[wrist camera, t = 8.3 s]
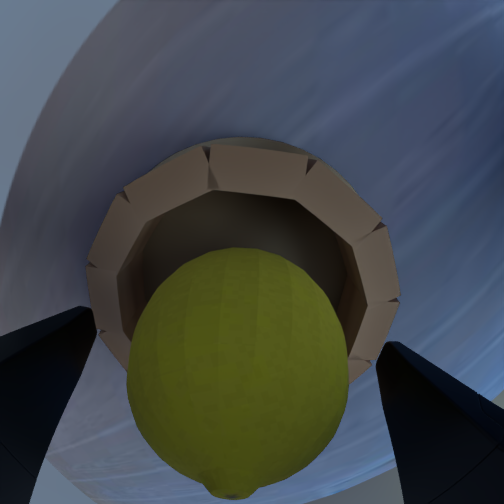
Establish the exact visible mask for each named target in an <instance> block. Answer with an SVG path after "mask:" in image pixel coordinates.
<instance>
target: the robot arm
mask: <svg viewBox="0 0 504 504" xmlns="http://www.w3.org/2000/svg"><path fill="white" fill-rule="evenodd" d="M96 335H97V329H96V324H95V319H94V314H93V311H92V309H91V308H89V307H84V306H78V307H75V308H72V309H70V310H67V311H65V312H62V313H59V314H57V315H54V316H52V317H49V318H46V319H44V320H41V321H39V322H36V323H33V324H31V325H28V326H26V327H23V328H21V329H18V330H15V331H13V332H10V333H8V334H5V335H3V336H0V504H29V502H30V499H31V496H32V492H33V489H34V486H35V483H36V480H37V479H36V478H37V477H38V474H39V471H40V468H41V466H42V463H43V460H44V458H45V455H46V452H47V450H48V447H49V445H50V442H51V440H52V437H53V435H54V433H55V430H56V428H57V426H58V423H59V421H60V419H61V416H62V414H63V412H64V410H65V408H66V405H67V403H68V401H69V399H70V397H71V395H72V393H73V391H74V389H75V387H76V385H77V383H78V380H79V378H80V376H81V374H82V371H83V369H84V366H85V364H86V361H87V358H88V356H89V353H90V351H91V348H92V346H93V343H94V341H95V338H96ZM376 371H377V377H378V382H379V388H380V394H381V401H382V406H383V410H384V415H385V418H386V422H387V426H388V430H389V434H390V438H391V442H392V446H393V451H394V455H395V459H396V464H397V468H398V473H399V478H400V483H401V489H402V494H403V500H404V504H504V409H502V408H501V407H499V406H497V405H496V404H494V403H492V402H491V401H489V400H488V399H486V398H485V397H483V396H482V395H480V394H477V392H475V391H474V390H472V389H471V388H469V387H468V386H466V385H465V384H463V383H462V382H460V381H458V380H457V379H455V378H454V377H452V376H451V375H449V374H448V373H446V372H445V371H443V370H442V369H440V368H439V367H437V366H435V365H434V364H432V363H431V362H429V361H428V360H426V359H425V358H423V357H422V356H420V355H419V354H417V353H415V352H414V351H412V350H411V349H409V348H408V347H406V346H405V345H403V344H402V343H400V342H398V341H388V342H386V343H385V344H384V346H383V349H382V351H381V353H380V355H379V358H378V360H377V362H376Z"/></svg>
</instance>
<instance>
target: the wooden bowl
mask: <svg viewBox="0 0 504 504" xmlns="http://www.w3.org/2000/svg"><path fill="white" fill-rule="evenodd" d="M123 189H124V191H123V192H121V193H118V194H117V195H116V196H115V198H114V200H113V202H112V204H111V206H110V208H109V210H108V212H107V214H106V216H105V218H104V220H103V222H102V225H101V227H100V229H99V231H98V233H97V235H96V238H95V240H94V242H93V244H92V247H91V249H90V251H89V254H88V256H87V258H86V259H87V260H88V261H89V262H90V263H89V264H88V265H86V266H85V267H86V275H87V283H88V290H89V296H90V302H91V308H92V311H93V314H94V319H95V324H96V329H100V330H101V331H100V333H99V334H98V335H99V336H100V338H101V339H102V340H103V342H104V343H105V344H106V346H107V347H108V348H109V350H110V351H111V352H112V354H113V355H114V356H115V358H116V359H117V360H118V361H119V363H120V364H121V365H122V367H123V368H124V369H125V370H126V371H127V370H128V362H129V354H130V348H131V342H132V338H133V334H134V331H135V328H136V325H137V322H138V320H139V318H140V316H141V314H142V312H143V311H144V309H145V307H146V306H147V304H148V302H149V300H150V299H151V297H152V295H153V294H154V292H155V291H156V290H157V288H158V287H159V286H160V285H161V284H162V283H163V282H164V281H165V280H166V279H167V278H168V277H169V276H171V275H172V274H173V273H174V272H175V271H176V270H177V269H179V268H180V267H181V266H182V265H183V264H185V263H187V262H189V261H191V260H193V259H195V258H197V257H199V256H202V255H204V254H206V253H208V252H210V251H216V250H221V249H227V248H232V247H236V248H255V249H260V250H263V251H267V252H270V253H273V254H277V255H280V256H282V257H283V258H285V259H287V260H288V261H290V262H292V263H293V264H295V265H297V266H298V267H300V268H301V269H303V270H304V271H305V272H306V273H307V274H308V275H309V276H310V277H311V279H312V280H313V281H314V282H315V283H316V284H317V285H318V286H319V287H320V288H321V289H322V290H323V291H324V293H325V294H326V296H327V297H328V299H329V301H330V303H331V305H332V307H333V309H334V311H335V313H336V315H337V317H338V320H339V322H340V324H341V326H342V329H343V332H344V336H345V341H346V347H347V357H348V372H349V384H351V383H352V382H353V381H354V380H355V379H357V378H358V377H359V376H360V375H361V374H363V373H364V372H365V371H366V370H367V369H368V368H369V367H371V366H372V364H371V362H370V360H376V359H377V357H378V355H379V353H380V350H381V348H382V346H383V344H384V341H385V339H386V337H387V334H388V332H389V329H390V327H391V324H392V322H393V319H394V317H395V314H396V312H397V309H398V306H399V304H400V302H399V301H398V300H397V298H396V297H398V296H400V295H401V294H400V287H399V282H398V276H397V271H396V266H395V261H394V256H393V251H392V246H391V242H390V238H389V233H388V229H387V226H386V225H384V224H383V223H381V222H380V221H381V220H382V217H381V216H380V215H379V214H377V213H376V212H375V211H374V210H373V209H372V208H371V207H370V206H369V205H368V204H367V203H366V202H365V201H364V200H363V199H362V198H361V197H360V196H359V195H358V194H357V193H356V191H355V190H354V189H353V187H352V186H351V185H350V184H349V183H348V182H347V181H346V180H345V179H344V178H343V177H342V176H341V175H340V174H339V173H338V172H337V171H336V170H334V169H333V168H332V167H330V166H329V165H328V164H326V163H325V162H324V161H322V160H321V159H319V158H317V157H315V156H314V155H312V154H310V153H308V152H306V151H304V150H302V149H300V148H297V147H294V146H291V145H289V144H286V143H283V142H279V141H274V140H269V139H264V138H253V137H232V138H222V139H215V140H211V141H207V142H203V143H199V144H196V145H193V146H191V147H189V148H186V149H184V150H181V151H179V152H177V153H175V154H174V155H172V156H170V157H169V158H167V159H165V160H164V161H162V162H161V163H159V164H158V165H157V166H156V167H154V168H153V169H152V170H151V171H150V172H148V173H147V174H145V175H143V176H142V177H140V178H138V179H136V180H135V181H133V182H131V183H129V184H128V185H126V186H124V187H123Z"/></svg>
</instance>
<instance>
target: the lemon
mask: <svg viewBox="0 0 504 504" xmlns="http://www.w3.org/2000/svg"><path fill="white" fill-rule="evenodd" d="M348 388H349V372H348V357H347V347H346V341H345V336H344V332H343V329H342V326H341V324H340V322H339V320H338V317H337V315H336V313H335V311H334V309H333V307H332V305H331V303H330V301H329V299H328V297H327V296H326V294H325V293H324V291H323V290H322V289H321V288H320V287H319V286H318V285H317V284H316V283H315V282H314V281H313V280H312V279H311V277H310V276H309V275H308V274H307V273H306V272H305V271H304V270H303V269H301V268H300V267H298V266H297V265H295V264H293V263H292V262H290V261H288V260H287V259H285V258H283V257H282V256H280V255H277V254H273V253H270V252H267V251H263V250H260V249H255V248H236V247H232V248H227V249H221V250H216V251H210V252H208V253H206V254H204V255H202V256H199V257H197V258H195V259H193V260H191V261H189V262H187V263H185V264H183V265H182V266H181V267H180V268H179V269H177V270H176V271H175V272H174V273H173V274H172V275H171V276H169V277H168V278H167V279H166V280H165V281H164V282H163V283H162V284H161V285H160V286H159V287H158V288H157V290H156V291H155V292H154V294H153V295H152V297H151V299H150V300H149V302H148V304H147V306H146V307H145V309H144V311H143V312H142V314H141V316H140V318H139V320H138V322H137V325H136V328H135V331H134V334H133V338H132V342H131V348H130V354H129V362H128V370H127V394H128V400H129V403H130V407H131V410H132V413H133V416H134V419H135V422H136V425H137V427H138V429H139V431H140V432H141V434H142V436H143V438H144V439H145V440H146V441H147V443H148V444H149V445H150V447H151V448H152V449H153V450H154V451H155V453H156V454H157V455H158V456H159V457H160V458H161V459H162V460H163V461H164V462H166V463H167V464H168V465H169V466H171V467H172V468H173V469H175V470H176V471H177V472H179V473H181V474H183V475H185V476H187V477H189V478H191V479H193V480H195V481H197V482H199V483H202V484H203V485H204V486H205V487H206V489H207V490H208V491H209V492H210V493H211V495H213V496H215V497H218V498H222V499H229V500H240V499H245V498H248V497H249V496H250V495H252V494H253V493H254V492H255V491H256V490H257V489H258V488H259V487H264V486H267V485H271V484H274V483H277V482H279V481H282V480H285V479H287V478H288V477H290V476H292V475H294V474H295V473H297V472H299V471H300V470H302V469H303V468H305V467H306V466H307V465H309V464H310V463H311V462H312V461H313V460H314V459H315V458H316V457H317V456H318V455H319V454H320V453H321V452H322V451H323V450H324V449H325V447H326V446H327V445H328V444H329V442H330V441H331V440H332V438H333V437H334V435H335V433H336V431H337V429H338V427H339V424H340V422H341V419H342V416H343V414H344V411H345V407H346V403H347V398H348Z"/></svg>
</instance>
